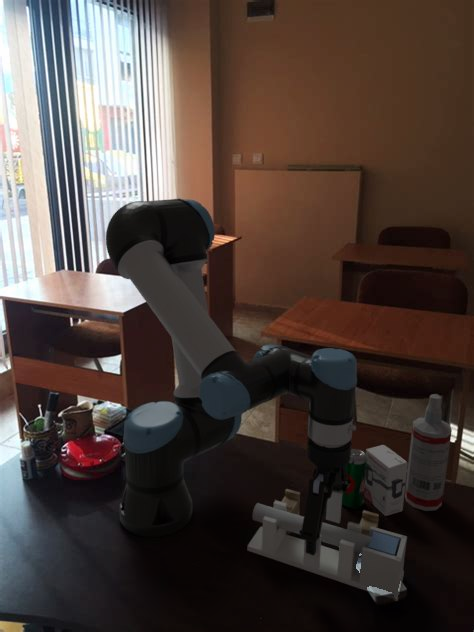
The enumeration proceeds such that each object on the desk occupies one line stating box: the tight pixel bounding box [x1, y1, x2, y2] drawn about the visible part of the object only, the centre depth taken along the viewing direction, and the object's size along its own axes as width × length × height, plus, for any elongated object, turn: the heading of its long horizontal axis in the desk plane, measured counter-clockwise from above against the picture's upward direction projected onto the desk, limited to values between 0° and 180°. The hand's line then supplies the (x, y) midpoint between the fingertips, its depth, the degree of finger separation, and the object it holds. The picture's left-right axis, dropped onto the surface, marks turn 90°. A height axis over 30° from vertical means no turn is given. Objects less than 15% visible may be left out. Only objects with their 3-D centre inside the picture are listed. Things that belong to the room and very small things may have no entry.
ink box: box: [364, 444, 408, 517], centre depth 116 cm, size 8×5×12 cm, turn 23°
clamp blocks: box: [280, 488, 380, 536], centre depth 106 cm, size 19×6×6 cm, turn 64°
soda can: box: [340, 448, 367, 509], centre depth 116 cm, size 5×5×12 cm
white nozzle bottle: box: [404, 393, 453, 512], centre depth 115 cm, size 8×8×25 cm
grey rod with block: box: [252, 502, 399, 557], centre depth 98 cm, size 26×4×3 cm, turn 64°
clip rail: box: [246, 499, 408, 602], centre depth 99 cm, size 28×7×8 cm, turn 64°
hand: (322, 541), depth 99 cm, fingers open, 13 cm apart
